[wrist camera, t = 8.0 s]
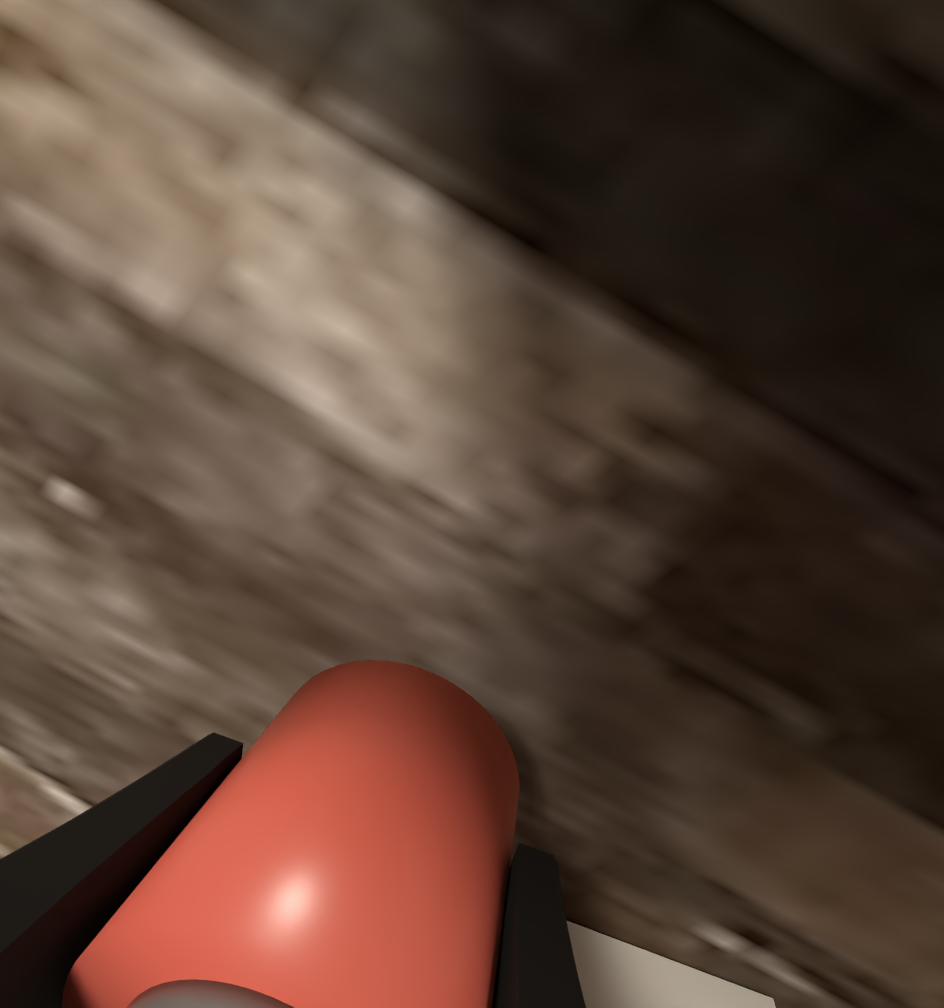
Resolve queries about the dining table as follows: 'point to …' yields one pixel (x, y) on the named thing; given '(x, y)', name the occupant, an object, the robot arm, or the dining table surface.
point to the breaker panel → (648, 978)
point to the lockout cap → (330, 862)
